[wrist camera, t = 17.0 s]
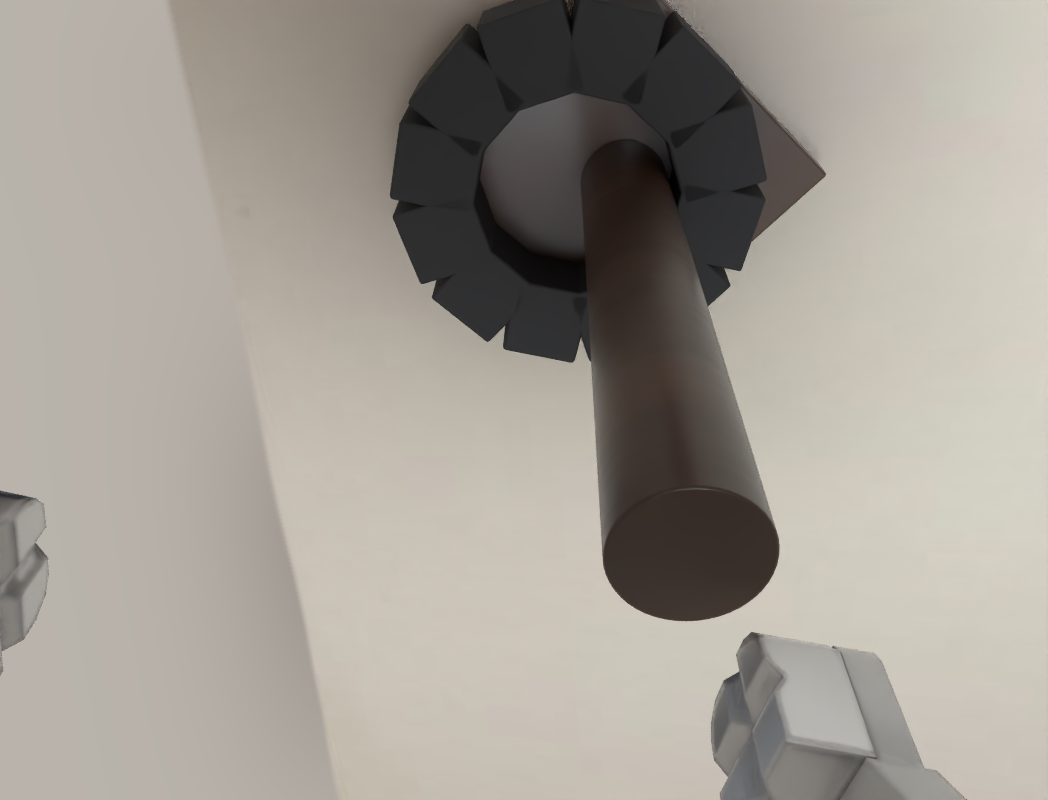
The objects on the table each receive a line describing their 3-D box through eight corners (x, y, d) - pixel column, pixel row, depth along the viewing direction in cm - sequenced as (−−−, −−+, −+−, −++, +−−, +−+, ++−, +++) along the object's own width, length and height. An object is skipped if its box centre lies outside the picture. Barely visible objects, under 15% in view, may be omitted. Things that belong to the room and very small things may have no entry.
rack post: (427, 177, 28) (282, 562, 13) (623, -44, 25) (716, 146, 10) (619, 343, 30) (675, 818, 16) (819, 164, 27) (1118, 552, 13)
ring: (336, 184, 27) (319, 211, 25) (566, -101, 23) (567, -95, 21) (582, 382, 30) (583, 419, 28) (822, 160, 26) (841, 187, 24)
